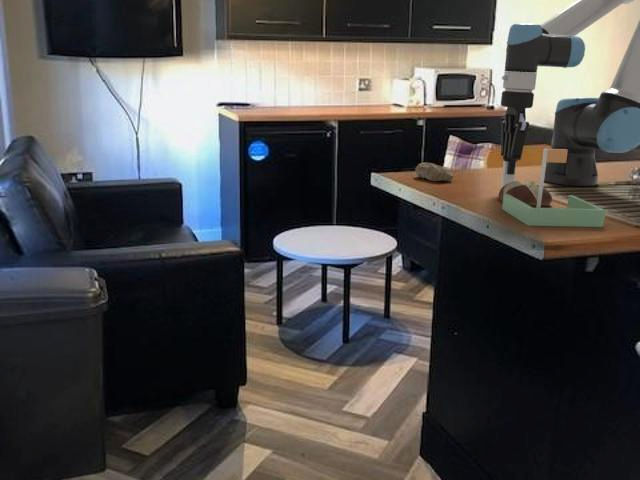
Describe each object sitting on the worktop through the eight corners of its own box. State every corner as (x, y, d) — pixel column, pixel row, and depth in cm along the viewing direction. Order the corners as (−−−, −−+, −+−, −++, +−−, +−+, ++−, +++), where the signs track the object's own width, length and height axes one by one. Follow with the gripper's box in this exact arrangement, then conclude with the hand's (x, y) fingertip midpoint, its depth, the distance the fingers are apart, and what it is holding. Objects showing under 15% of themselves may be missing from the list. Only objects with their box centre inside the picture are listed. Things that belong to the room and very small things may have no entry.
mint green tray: (570, 210, 153) (580, 141, 149) (603, 227, 139) (614, 151, 135) (502, 209, 152) (510, 139, 148) (527, 225, 138) (537, 148, 133)
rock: (436, 184, 180) (438, 168, 179) (409, 177, 189) (410, 161, 188) (457, 182, 185) (459, 166, 183) (430, 175, 193) (431, 160, 192)
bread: (493, 198, 165) (495, 178, 164) (539, 199, 166) (541, 179, 165) (508, 208, 154) (511, 186, 153) (557, 209, 155) (560, 188, 154)
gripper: (494, 88, 170) (484, 181, 177) (512, 91, 158) (501, 191, 164) (523, 89, 171) (512, 182, 177) (543, 92, 159) (531, 192, 165)
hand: (507, 186), depth 171 cm, fingers closed
